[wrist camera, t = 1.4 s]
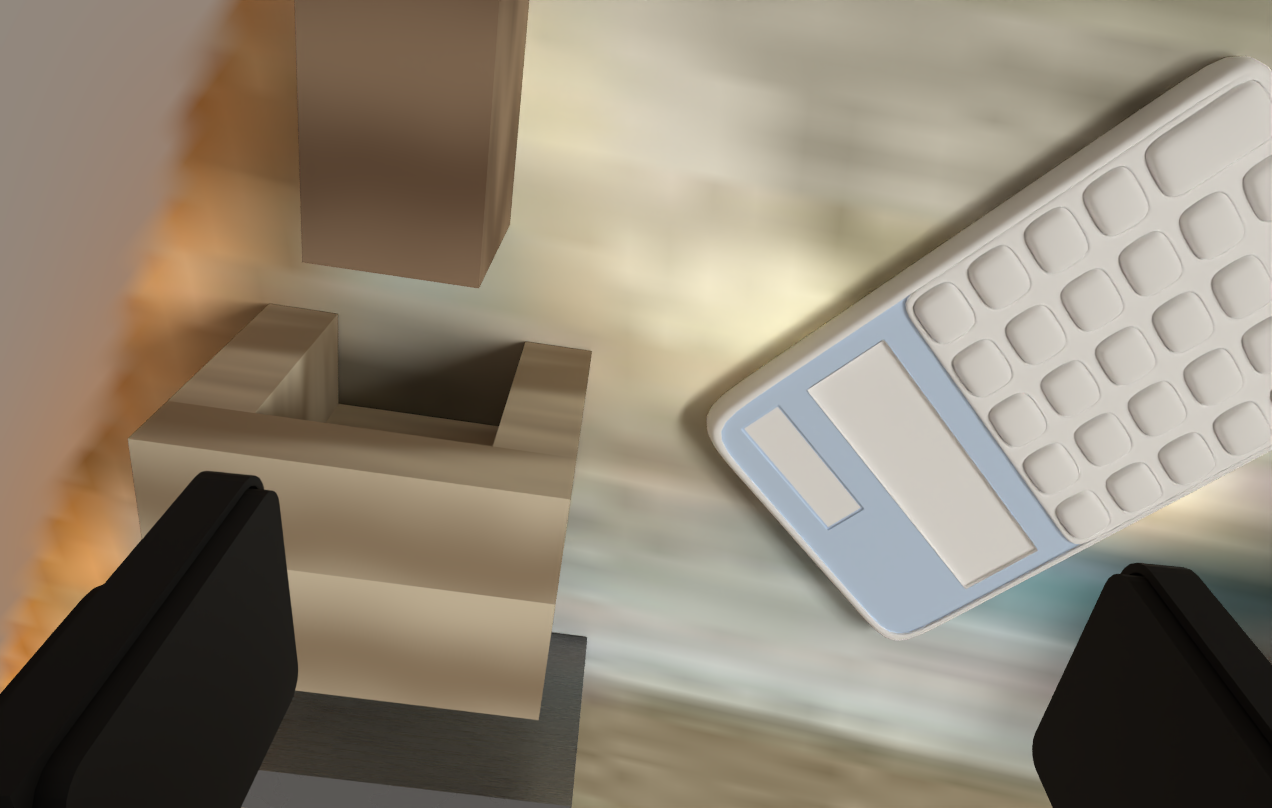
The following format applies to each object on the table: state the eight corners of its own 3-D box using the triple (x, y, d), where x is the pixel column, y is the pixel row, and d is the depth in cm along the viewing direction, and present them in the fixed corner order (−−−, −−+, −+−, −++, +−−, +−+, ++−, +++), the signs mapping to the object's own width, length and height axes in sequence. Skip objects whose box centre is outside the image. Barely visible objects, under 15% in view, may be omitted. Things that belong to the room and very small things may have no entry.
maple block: (269, 303, 29) (127, 438, 21) (591, 351, 30) (570, 499, 22) (278, 498, 33) (161, 673, 25) (565, 536, 34) (538, 719, 26)
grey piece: (245, 593, 35) (144, 756, 28) (587, 637, 36) (571, 806, 29) (252, 682, 38) (160, 853, 31) (572, 721, 39) (555, 897, 32)
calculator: (1381, 358, 30) (1424, 382, 29) (883, 627, 36) (894, 660, 35) (1235, 34, 26) (1276, 41, 24) (690, 407, 32) (692, 433, 30)
